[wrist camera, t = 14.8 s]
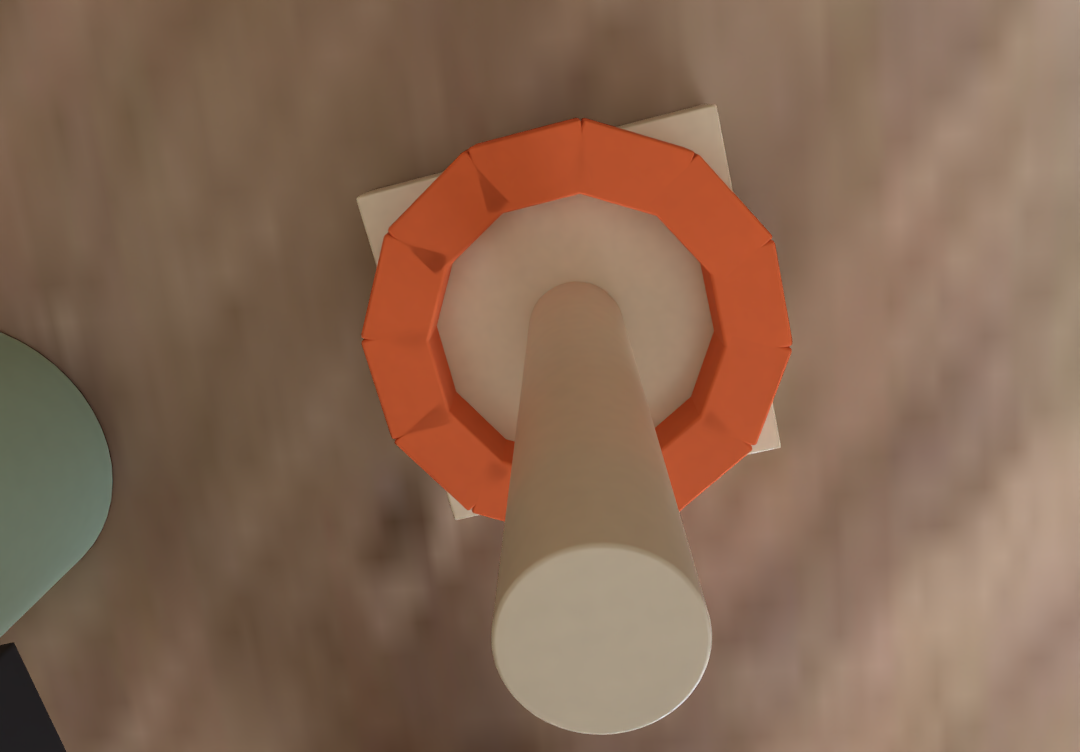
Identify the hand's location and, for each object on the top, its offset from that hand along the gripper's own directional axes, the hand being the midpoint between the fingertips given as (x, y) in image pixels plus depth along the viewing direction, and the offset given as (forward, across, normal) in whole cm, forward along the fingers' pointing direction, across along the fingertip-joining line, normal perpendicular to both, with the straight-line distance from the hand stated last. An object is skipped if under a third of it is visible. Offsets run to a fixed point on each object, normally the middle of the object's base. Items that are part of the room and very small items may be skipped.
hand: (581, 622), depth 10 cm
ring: (+13, 0, 0) cm, 13 cm away
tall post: (+15, 0, 0) cm, 15 cm away
